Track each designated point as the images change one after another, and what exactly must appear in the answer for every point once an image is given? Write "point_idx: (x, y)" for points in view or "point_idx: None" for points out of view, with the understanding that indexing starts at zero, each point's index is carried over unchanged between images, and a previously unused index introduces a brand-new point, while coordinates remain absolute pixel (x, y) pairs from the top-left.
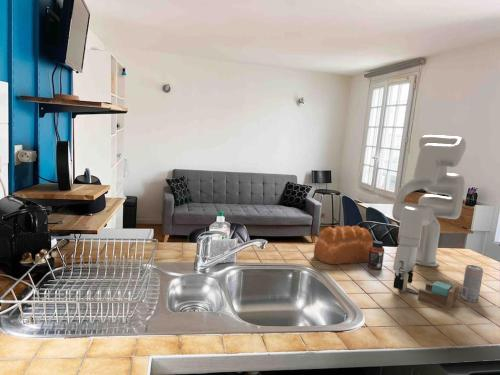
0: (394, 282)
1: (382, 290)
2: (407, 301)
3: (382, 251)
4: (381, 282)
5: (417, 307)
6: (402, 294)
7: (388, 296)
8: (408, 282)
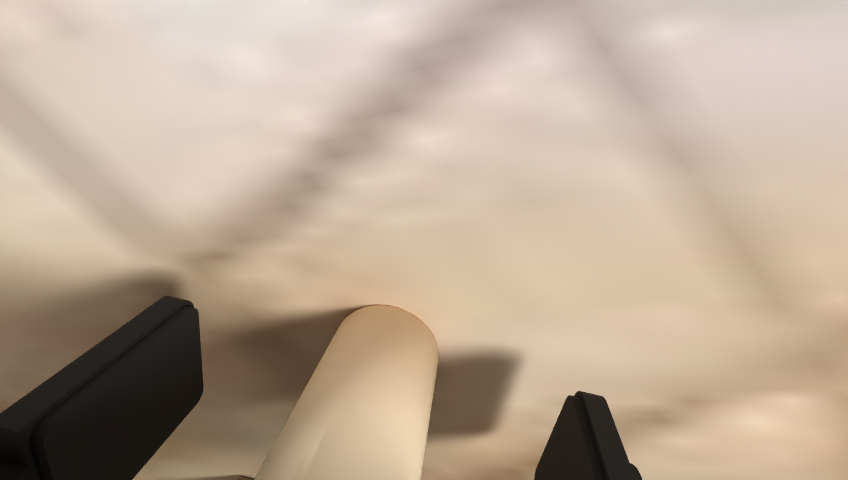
0: (102, 350)
1: (129, 140)
2: None
3: None
4: (451, 46)
5: None
6: (228, 361)
7: (29, 240)
8: (544, 453)
